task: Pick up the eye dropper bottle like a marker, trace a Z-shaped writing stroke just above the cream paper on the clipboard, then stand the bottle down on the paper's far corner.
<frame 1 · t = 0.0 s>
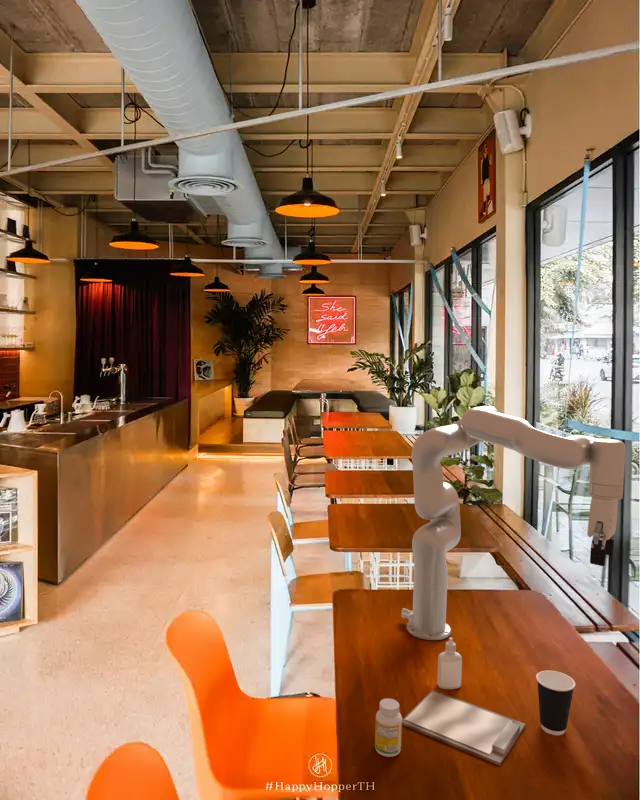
hand: (601, 559, 150), 31 cm above the table, tool pointing down, fingers open, 9 cm apart
eye dropper bottle: (448, 686, 149), on the table
clipboard: (462, 725, 133), on the table
supplement bottle: (387, 750, 125), on the table
dixie cup: (552, 729, 133), on the table
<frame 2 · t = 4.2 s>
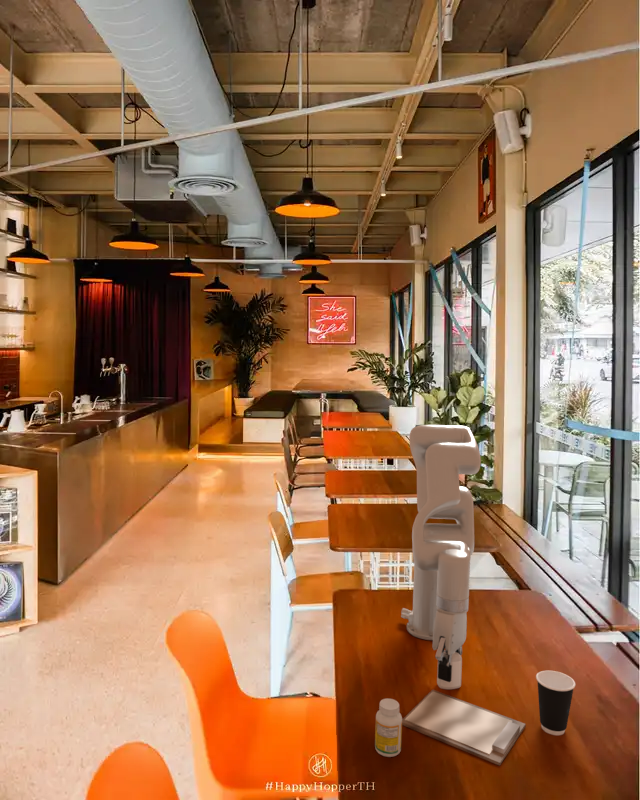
hand: (449, 674, 149), 3 cm above the table, tool pointing down, fingers closed on eye dropper bottle, 4 cm apart
eye dropper bottle: (448, 686, 149), on the table, touching gripper
everything else where it was.
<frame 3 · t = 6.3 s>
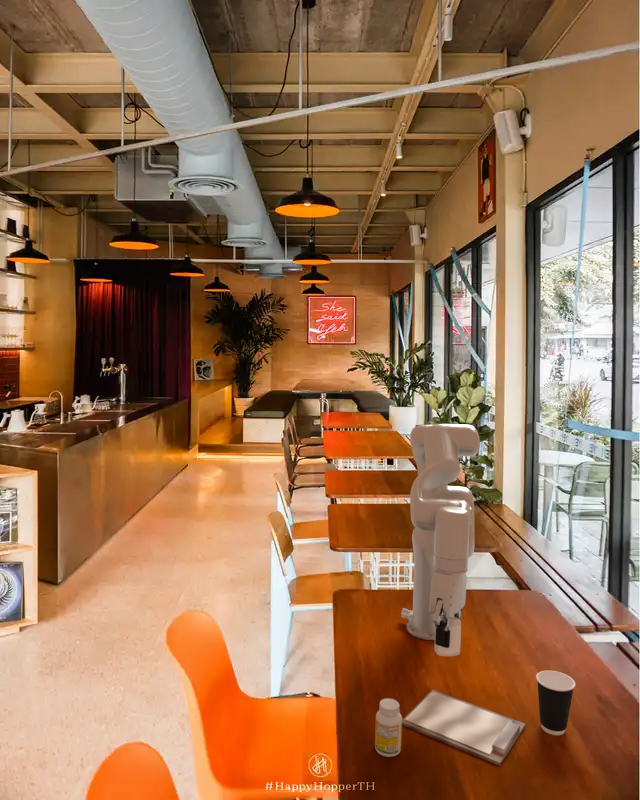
hand: (447, 640, 139), 16 cm above the table, tool pointing down, fingers closed on eye dropper bottle, 4 cm apart
eye dropper bottle: (447, 653, 139), point 13 cm above the table, touching gripper
everything else where it was.
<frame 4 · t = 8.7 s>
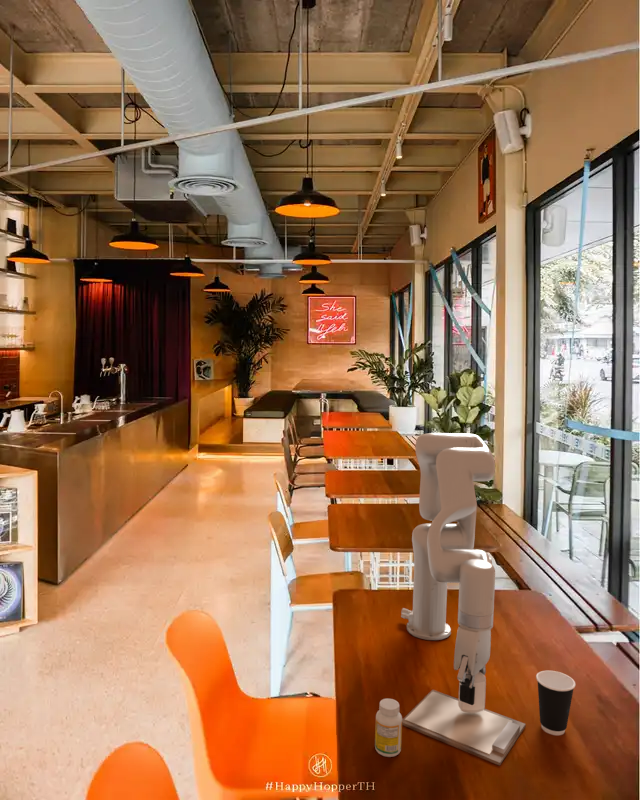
hand: (471, 695, 136), 5 cm above the table, tool pointing down, fingers closed on eye dropper bottle, 4 cm apart
eye dropper bottle: (471, 709, 136), point 2 cm above the table, touching gripper
everything else where it was.
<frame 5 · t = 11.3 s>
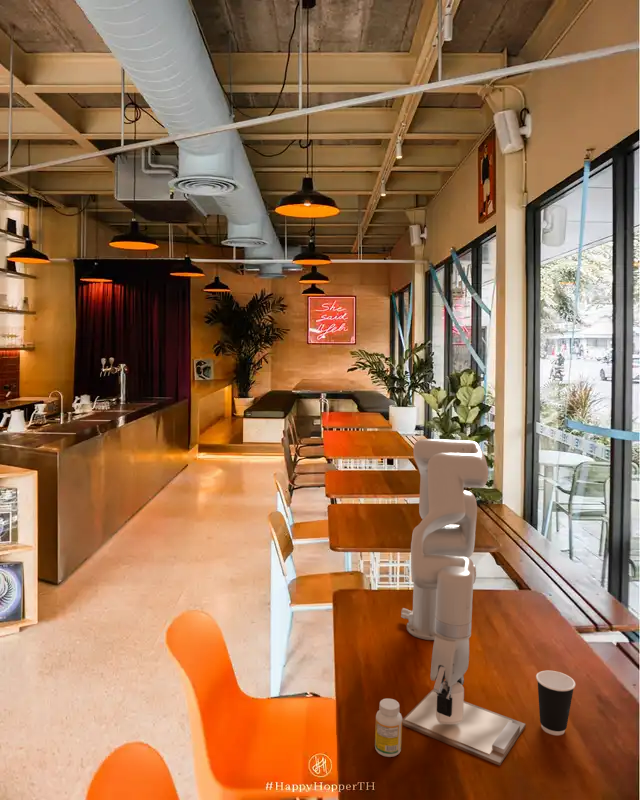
hand: (449, 706, 132), 5 cm above the table, tool pointing down, fingers closed on eye dropper bottle, 4 cm apart
eye dropper bottle: (449, 720, 132), point 2 cm above the table, touching gripper
everything else where it was.
when the fingers open (4 cm above the table, at t = 13.4 s): eye dropper bottle stays where it is, resting on clipboard.
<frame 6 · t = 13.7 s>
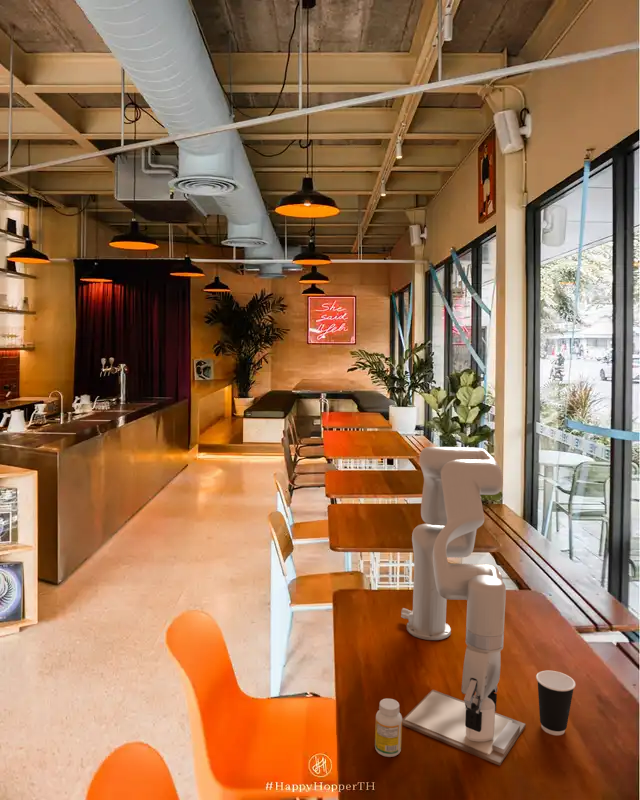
hand: (480, 718, 127), 5 cm above the table, tool pointing down, fingers open, 7 cm apart
eye dropper bottle: (479, 738, 128), point 1 cm above the table, touching clipboard
everything else where it was.
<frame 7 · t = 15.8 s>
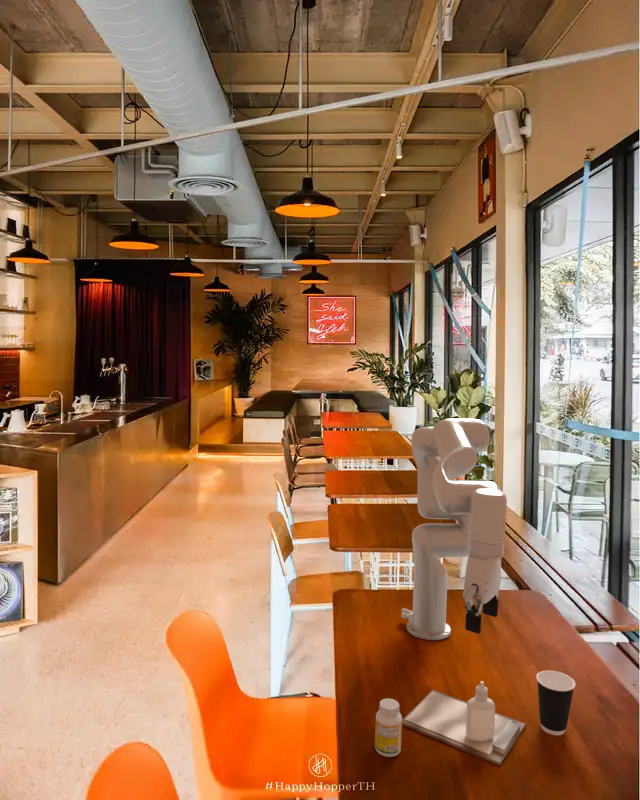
hand: (481, 623, 134), 22 cm above the table, tool pointing down, fingers open, 9 cm apart
nothing on the table moved.
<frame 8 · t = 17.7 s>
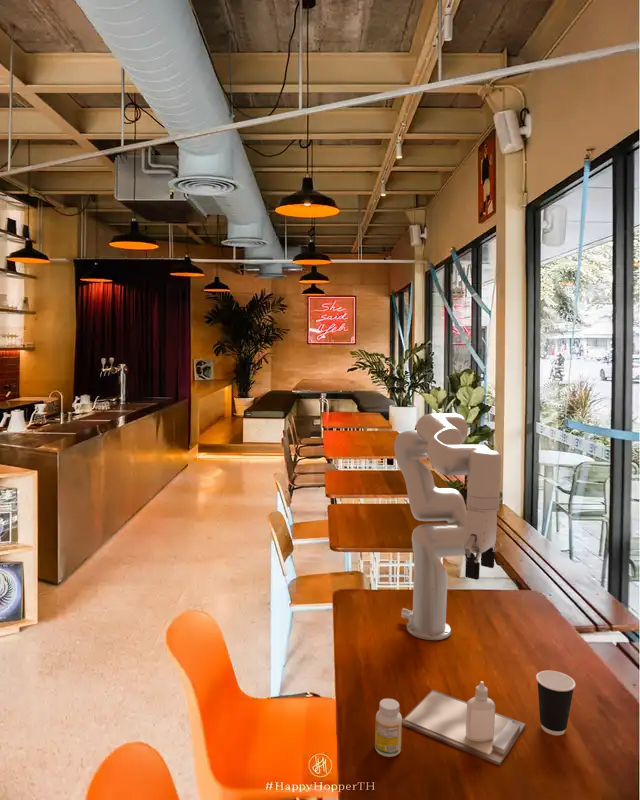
hand: (479, 572, 147), 28 cm above the table, tool pointing down, fingers open, 9 cm apart
nothing on the table moved.
at the end: eye dropper bottle inside the target area on the clipboard (5.7 cm from its centre), point 0.6 cm above the clipboard's base; eye dropper bottle tilted 0°; the gripper is holding nothing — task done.
